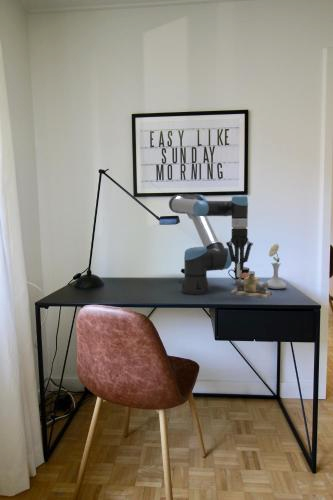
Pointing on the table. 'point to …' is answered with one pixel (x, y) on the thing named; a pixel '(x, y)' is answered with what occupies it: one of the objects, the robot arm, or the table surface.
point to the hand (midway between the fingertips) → (239, 276)
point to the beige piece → (251, 287)
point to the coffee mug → (245, 270)
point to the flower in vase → (275, 271)
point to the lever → (247, 274)
